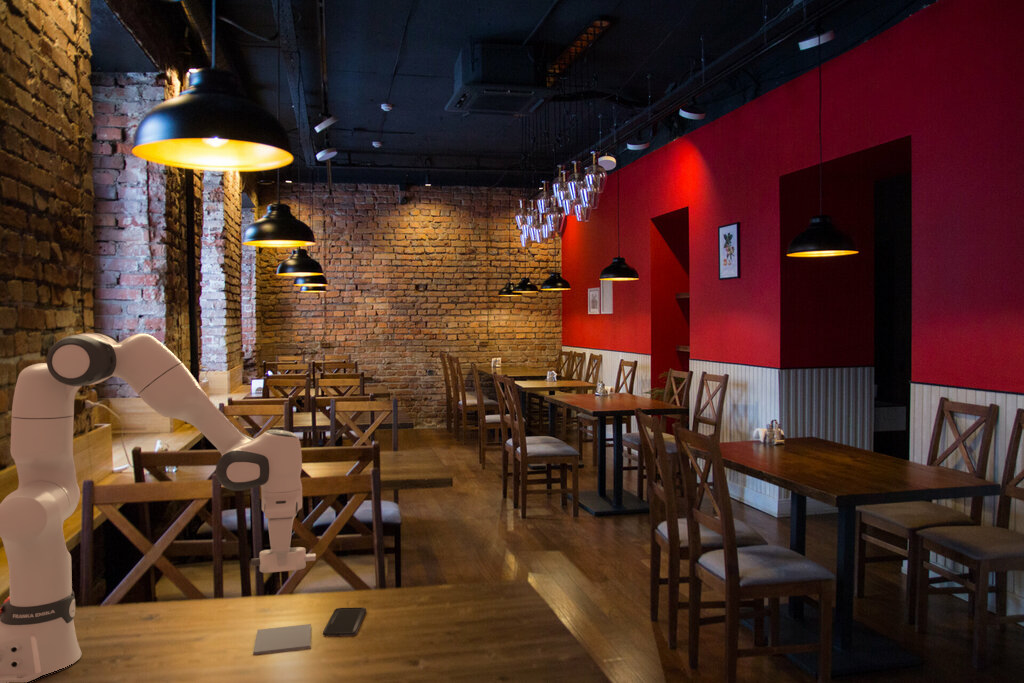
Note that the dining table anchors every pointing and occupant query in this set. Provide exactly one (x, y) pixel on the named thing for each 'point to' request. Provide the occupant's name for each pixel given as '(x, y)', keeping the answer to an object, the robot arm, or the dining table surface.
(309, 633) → the pad
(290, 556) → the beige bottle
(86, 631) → the dining table surface
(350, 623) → the phone
